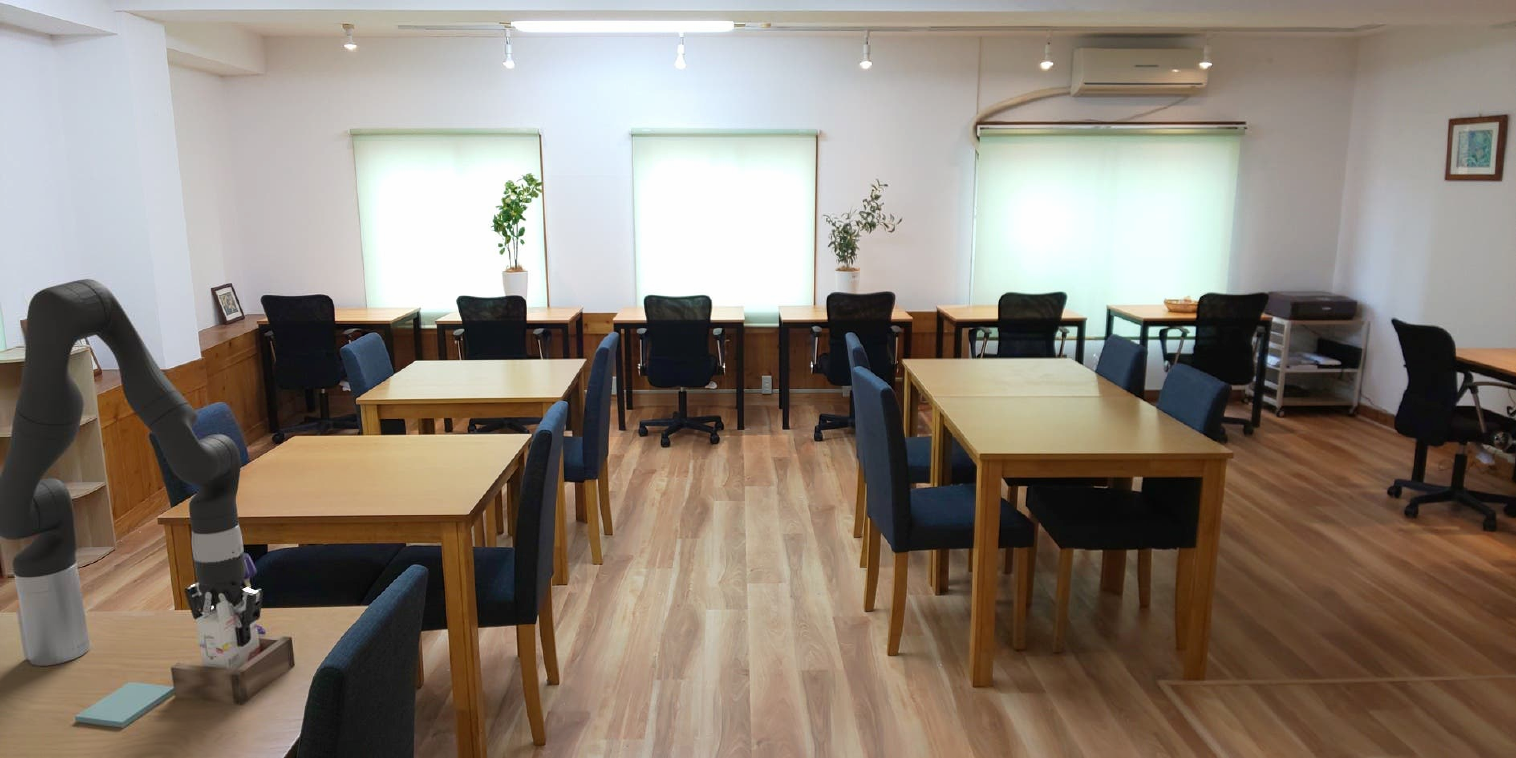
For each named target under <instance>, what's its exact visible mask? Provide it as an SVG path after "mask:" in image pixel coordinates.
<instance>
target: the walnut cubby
mask: <svg viewBox="0 0 1516 758" xmlns="http://www.w3.org/2000/svg"><path fill="white" fill-rule="evenodd" d="M258 638H259V646H260V654H258V655H257V656H256V657H254V658H253V659H251V660H250V661H248V662H247V663H246V664H244V665H243V666H241V667H240V668H238V669H237V670H235V669H226V668H217V667H208V666H203V665H199V664H198V665H197V664H187V663H179V662H177V663H175V664H174V665H172V666H171V667H170V670H171V677H172V678H171V679H172V684H173V686H172V687H174V697H175V698H181V699H189V700H198V701H206V702H213V703H223V704H233V705H238V706H239V705H240V706H242V705H244V704H245V703H246V702H248V701H249V700H250V699H251V698H253V697H254V696H257V694H258V693H260V692H261V691H263V689H265V688H267V687H268V686H269V685H271V684H272V682H274V681H276V680H277V679H279V677H282V675H283V674H285V673H286V672H288V671H289V670H290V669H292V668H293V667H294V666H295V664H296V663H295V662H296V661H295V654H294V645H293V637H292V636H285V635H284V636H282V635H272V634H266V633H265V634H258Z"/></svg>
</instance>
